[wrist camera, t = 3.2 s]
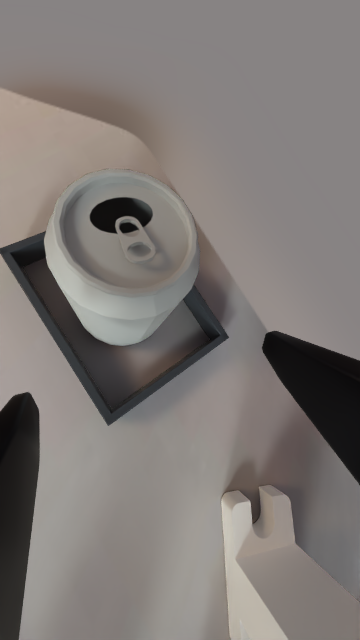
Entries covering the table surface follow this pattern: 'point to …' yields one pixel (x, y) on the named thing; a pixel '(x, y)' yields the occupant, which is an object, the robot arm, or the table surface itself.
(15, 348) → the table surface
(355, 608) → the white phone stand
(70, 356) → the dark grey rectangular frame
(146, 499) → the table surface
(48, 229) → the can
